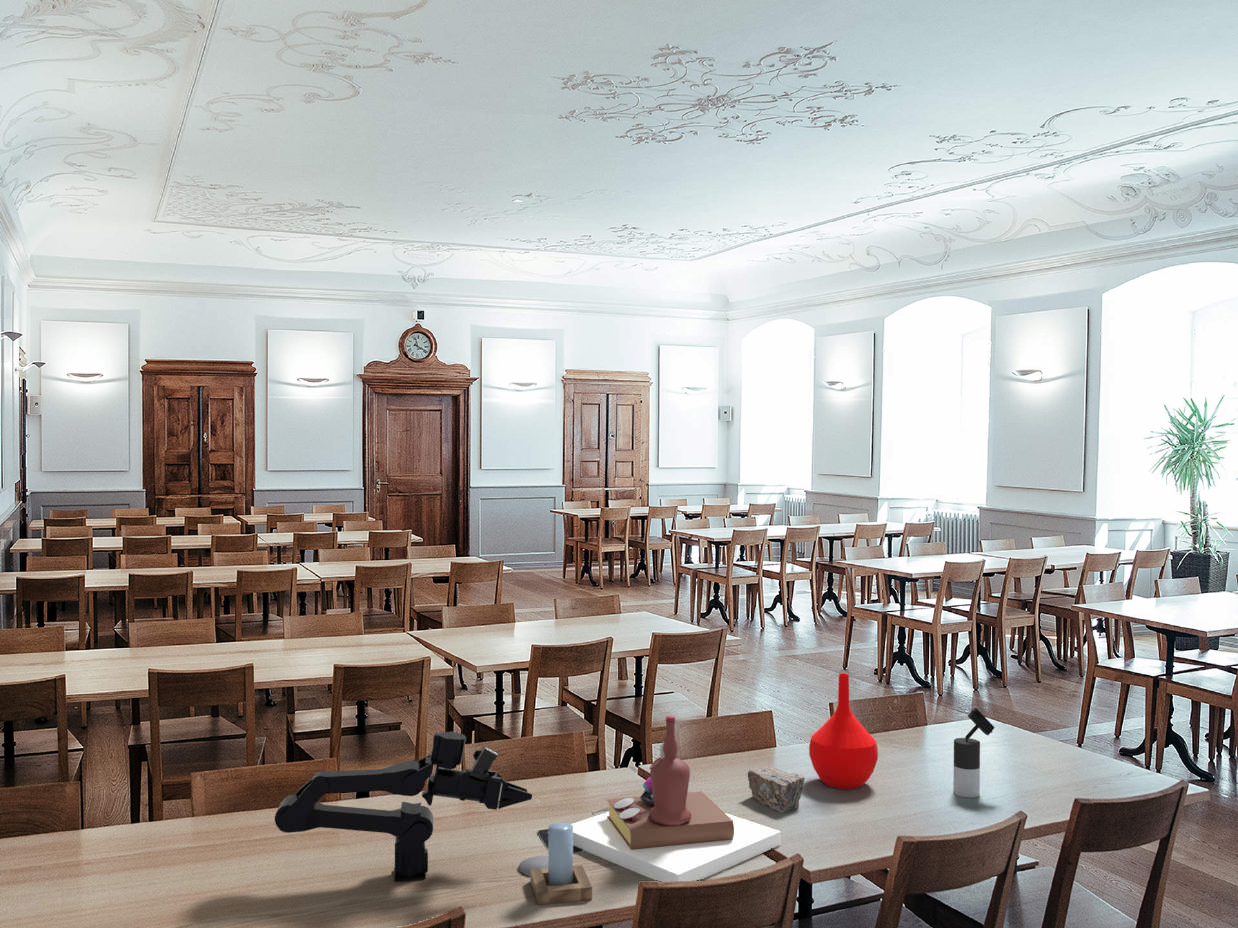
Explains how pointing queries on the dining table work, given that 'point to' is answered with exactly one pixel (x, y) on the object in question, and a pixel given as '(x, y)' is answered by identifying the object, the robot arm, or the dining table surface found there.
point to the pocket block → (560, 887)
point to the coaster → (533, 864)
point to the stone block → (776, 787)
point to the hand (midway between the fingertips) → (529, 794)
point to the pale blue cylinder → (560, 854)
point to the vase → (843, 746)
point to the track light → (969, 758)
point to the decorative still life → (671, 827)
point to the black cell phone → (545, 838)
